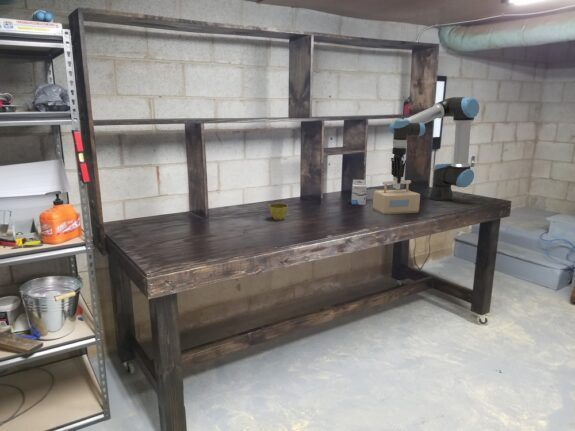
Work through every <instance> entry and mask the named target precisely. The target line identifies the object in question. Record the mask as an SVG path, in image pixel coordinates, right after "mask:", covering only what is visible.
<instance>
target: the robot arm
mask: <svg viewBox="0 0 575 431" xmlns="http://www.w3.org/2000/svg"><path fill="white" fill-rule="evenodd" d="M479 111H480V104H479V102H478V101H477V99H476V98H474V97H472V96H471V97H470V96H460V97H459V96H457V97H456V96H451V97H449V98H445V99H442V100H440V101H438V102H436V103H434V104H433V106H431V107H429V108H427V109H424V110H421V111H420V112H417V113H415V114H413V115H411V116H408V117H407V118H404V119H403V118H402V119H401V118H399V119H398V118H397V119H396V118H395V121H392V122H391V123H390V124H389V131H390V134H392V135H393V140H392V146H393V147H392V148H391V149H392V151H391V152H392V155H393V157H391V158H390V161H391V169H390V170H391V171H390V172H391V175H392V177H393V178H392V179H393V180H392V181H396V184H392V189H394V190H401V184H400V183H401V180H402V178H404V176H405V175H404V174H405V169H406V164H407V160H406V159H405V155H406V154H407V147H408V146H407V145H408V144H407V143H408V137H421V136H423V135H424V134H425V132H426V125H425V124H428V123H430V122H432V121H434V120H436V119H442V118H447V117H453V119H452V121H453V122H454V124H455V126H454V127H455V128H454V129H455V130H454V145H453V161H452V163H438V164H437V163H436V164H435V165H434V167H433V175H432V177H433V178H432V184H431V186H432V187H431V188H430V191H429V193H428V199H430V200H433V201H439V202H440V201H441V202H447V201H448V202H450V201H453V199H454V195H453V191H452V186H454V187H457V188H467V187H469V186H471V184H472V182H474V180H475V179H474V178H475V172H474V171H473V170H472V169H471V164H470V162H469V156H470V155H469V154H470V141H471V140H470V139H471V128H472V126H471V125H472V123H473V122H474V120H475V117H477V116H478V114H479ZM404 159H405V160H404Z"/></svg>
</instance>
